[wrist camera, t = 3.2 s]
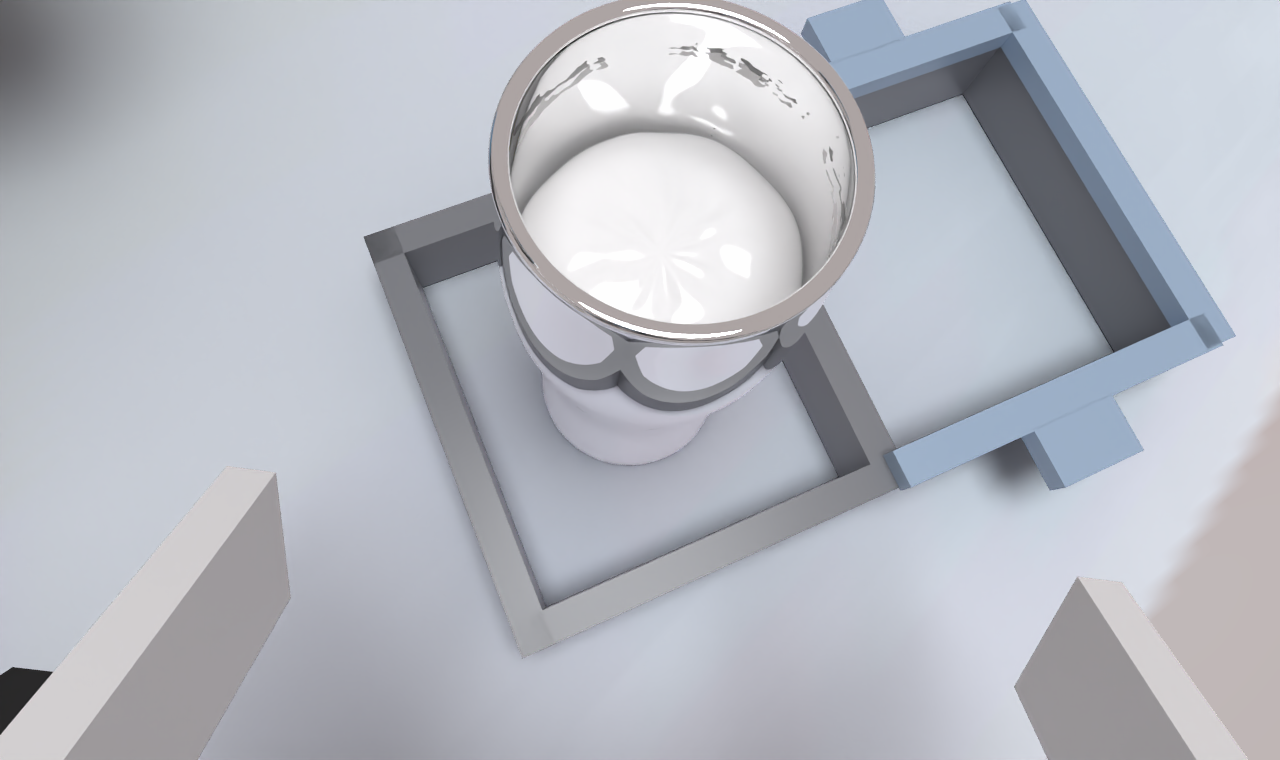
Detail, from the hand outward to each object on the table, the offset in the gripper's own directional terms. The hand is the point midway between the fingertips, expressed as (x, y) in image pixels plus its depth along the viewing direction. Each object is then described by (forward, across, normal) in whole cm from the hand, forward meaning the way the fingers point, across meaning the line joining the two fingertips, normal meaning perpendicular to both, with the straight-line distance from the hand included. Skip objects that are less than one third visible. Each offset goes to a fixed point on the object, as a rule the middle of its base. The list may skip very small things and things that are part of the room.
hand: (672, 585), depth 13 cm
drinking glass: (+14, -1, -4) cm, 15 cm away
